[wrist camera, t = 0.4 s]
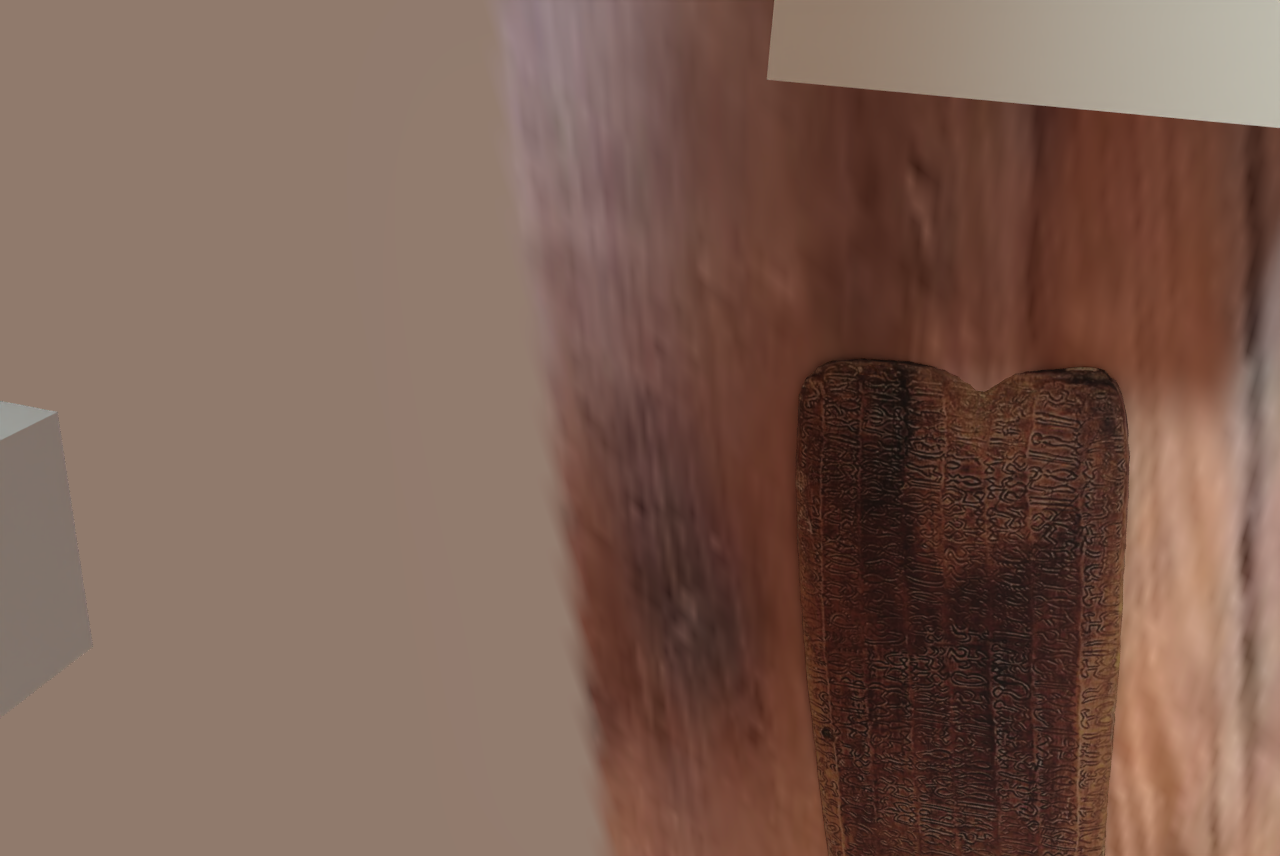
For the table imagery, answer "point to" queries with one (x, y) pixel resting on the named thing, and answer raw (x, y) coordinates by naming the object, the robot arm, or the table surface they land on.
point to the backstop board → (1044, 53)
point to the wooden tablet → (962, 606)
